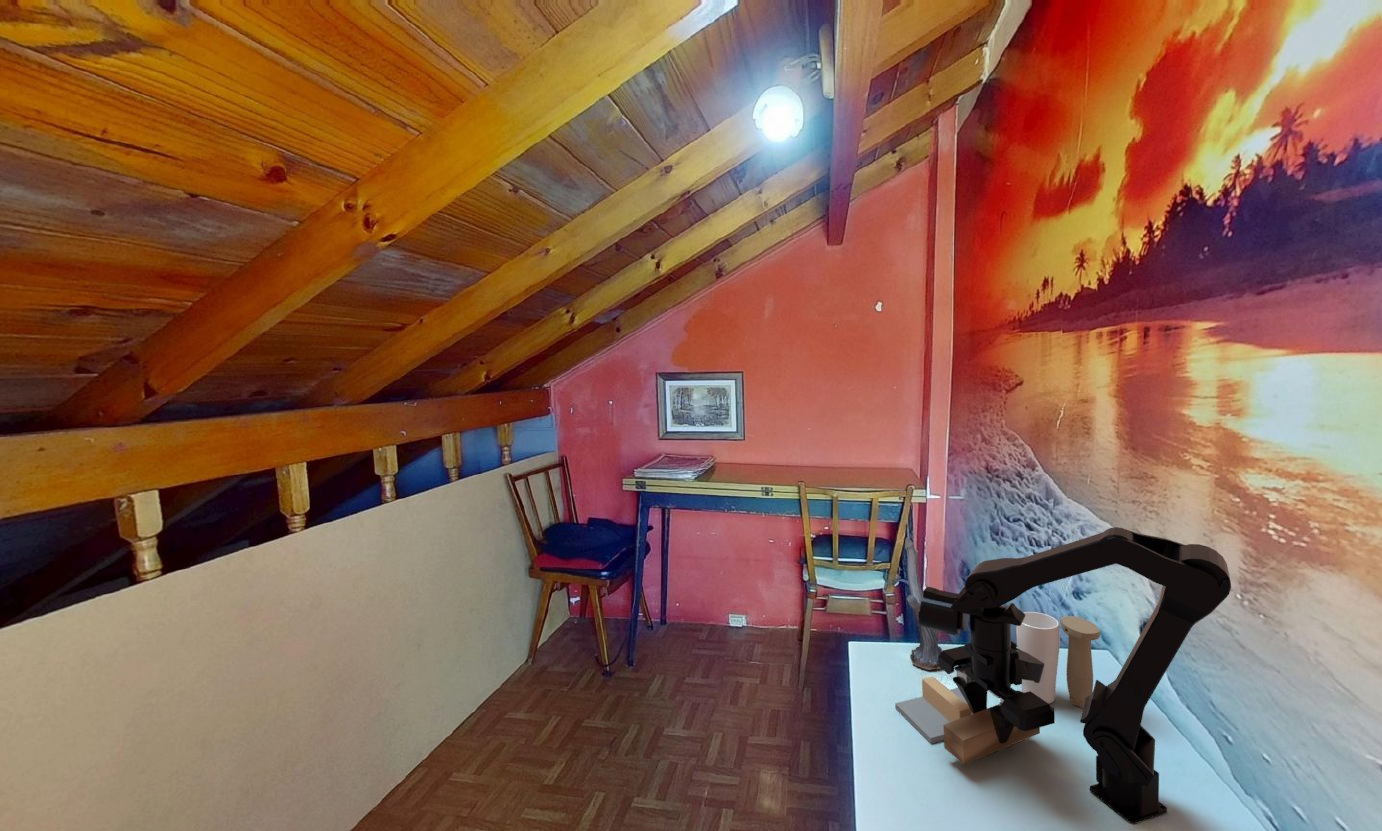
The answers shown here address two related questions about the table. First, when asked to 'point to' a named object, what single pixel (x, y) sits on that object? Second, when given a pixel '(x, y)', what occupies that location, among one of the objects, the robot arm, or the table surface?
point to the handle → (1079, 657)
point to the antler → (928, 645)
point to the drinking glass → (1040, 651)
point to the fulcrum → (934, 709)
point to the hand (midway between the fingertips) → (992, 733)
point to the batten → (978, 736)
